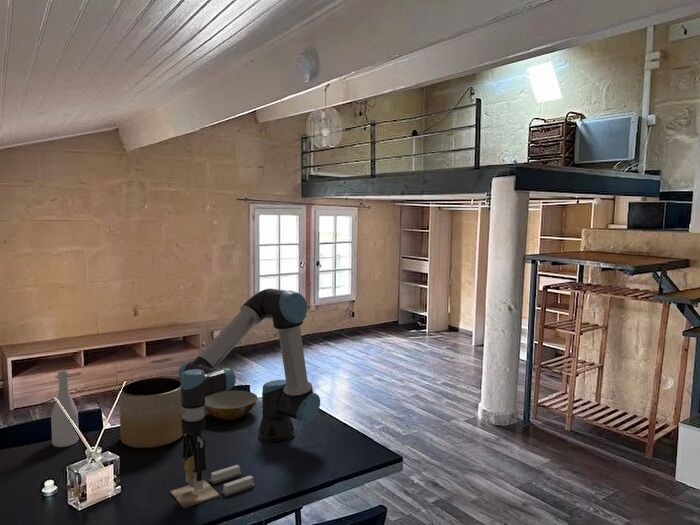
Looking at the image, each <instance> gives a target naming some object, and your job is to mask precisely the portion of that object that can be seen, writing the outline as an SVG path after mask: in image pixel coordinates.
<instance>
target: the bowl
mask: <svg viewBox="0 0 700 525" xmlns="http://www.w3.org/2000/svg"><path fill="white" fill-rule="evenodd" d="M257 400H258V396H257V395H256V394H255V393H254V392H251V391H247V390H237V389H236V390H235V389H233V390H232V389H229V390H226V391H223V392H220V393H216V394H213V395H210V396H206V397H205V411H207V412H208V414H210V415H211V416H213V417H215V418H217V419H220V420H222V421H234V419H235V420H238V419H240V418H241V417H243V416H245V415H246V414H248V413H249V412H250V411H252V409H253V407H254V406H255V404H256V403H257Z"/></svg>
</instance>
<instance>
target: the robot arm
mask: <svg viewBox="0 0 700 525" xmlns="http://www.w3.org/2000/svg"><path fill="white" fill-rule="evenodd" d="M307 313H308V303H307V300H306V298H305V297H304V295H302V294H301V293H299V292H296V291H293V290H285V289H284V290H283V289H277V288H266V289H262V290H260V291H258V292H257V293H255V294H254V295H252V296H251V297H250V298H248V299H247V300H246V301H245V302H244V304H243V305H241V307H240V311H239V312H238V313H237V314H236V316H234V318H232V319H231V321H229V323H228V324H227V325H226V326H224V328H223V330H221V331H220V332H219V334H217V336H215V338H214V339H213V340H212V341H210V343H209V344H208V345H207V346H206V347H205V348H204V350H202V352H200V353H199V354H198V356H197V357H195V359H194V360H193V361H186V362H184V363H183V364H182V365H181V366H180V367H179V369H178V377H179V380H181V385H180V386H181V409H182V410H180V413H182V418H183V419H182V420H181V422H182V432H183V436H182V458H183V459H184V462H185V461H186V460H187V459H188V458H189V457H191V456H193V458H194V465H195V470H194V471H193V473H194V491H197V490H200V489H203V480H204V472H205V471H206V470H207V465H206V464H207V462H206V460H207V459H206V440H203V435H202V434H201V433H202V432H203V431H204V429H205V428H206V417H205V416H206V409H205V397H206V396H210V395H213V394H216V393H220V392H223V391H229V390H232V389H233V388H234V387H235V385H236V383H237V382H236V377H237V376H236V374H235V372H234V370H233V369H232V368H229V367H222V368H220V369H217V368H216V367H218V365H219V364H221V362H222V361H224V359H225V358H226V357H227V355H229V354H230V352H231V351H232V350H233V349H234V348H235V347H236V346H237V345H238V344H239V343H240V341H241V340H242V339H243V338H244V337H245V336H246V335H247V333H249V331H250V330H251V329H252V328H253V327H254V326H255V325H259V324H260V323H261V322H262V321H263V320H265V319H271V320H272V324H273V328H274V329H275V330H277V331H278V337H279V338H278V339H279V344H280V351H281V358H282V364H283V370H284V377H285V378H284V379H274V380H270V381H267V382H265V383H264V384H263V385H262V391H261V399H262V400H261V401H262V402H261V403H262V406H261V407H262V418H261V422H260V425H259V428H258V438H259V440H261V441H264V442H268V443H280V442H286V441H288V440H291V439H292V438H294V436H295V426H294V423H293V421H292V419H293V420H294V419H295V420H297V421H300V422H301V421H302V422H310V421H312V420H313V419H314V418H315V417H316V416H317V414H318V413H319V409H320V407H321V398H320V396H319V394H317V393H315V392H314V389H313V384H312V382H310V381H308V375H307V368H306V360H305V353H304V347H303V340H302V339H303V338H302V332H301V326H303V324H304V320H305V319H306V316H307ZM185 482H186V483H189V476H188V475H187V473H186V472H185Z"/></svg>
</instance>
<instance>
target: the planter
mask: <svg viewBox="0 0 700 525" xmlns="http://www.w3.org/2000/svg"><path fill="white" fill-rule="evenodd" d="M124 385H125V386H124V387H123V385H122V386H120V388H119V392H120V391H121V389H122V387H123V389H122V392H121V394H120V393H119V429H120V430H119V431H120V432H119V434H120V435H119V436H120V441H121V443H123V444H124V445H125V446H127V447H129V448H134V449H144V450H145V449H155V448H160V447H164V446H168V445H170V444H173V443H175V442H177V441H178V440H179V439H181V437H182V438H183V432H182V422H181V420H182V419H183V418H182V413H180V410H182V409H181V386H180V385H181V379H180V378H176V377H175V378H174V377H167V376H158V377H156V376H155V377H147V378H140V379H136V380H133V381H130V382H127V383H125V384H124Z"/></svg>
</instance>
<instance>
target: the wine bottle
mask: <svg viewBox="0 0 700 525" xmlns="http://www.w3.org/2000/svg"><path fill="white" fill-rule="evenodd" d="M68 376H69V370H68V369H60V370H58V372H57V378H58V392H57V396H56V399H58V400H59V401H60V403H61V405H62V406H63V407H64V409H65V410H66V411H67V413H68V414H69V416H70V418H71V419H72V420H73V421H74V423H75V424H76V426H77V427H78V428H79V412H78V409H77V406H76V404H75V402H74V401H73V398H72V395H71V393H70V390H69V377H68ZM50 416H51V417H50V419H51V420H50V422H51V443H52V446H53V447H56V448H65V447H70V446H72V445H75V444H77V443H78V442H79V440H80V439H79V438H80V436H79V437H78V435H77V433H76V432H75V430H74V429H73V427H72V425H71V424H70V422H69V421H68V419H67V418H66V416H65V415H64V413H63V411H62V410H61V408H60V407H59V405H58V404H57V402H56V401H55V402H54V406H53V409H52V413H51V415H50Z"/></svg>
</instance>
